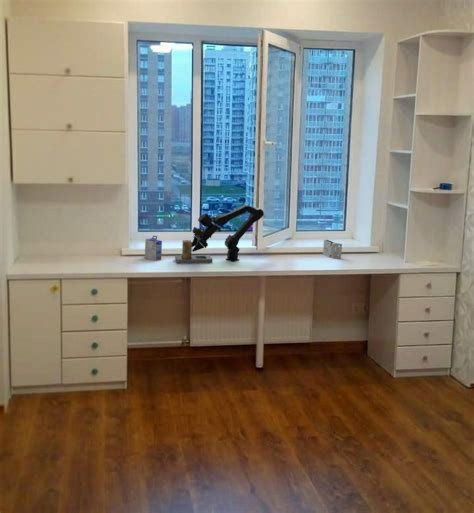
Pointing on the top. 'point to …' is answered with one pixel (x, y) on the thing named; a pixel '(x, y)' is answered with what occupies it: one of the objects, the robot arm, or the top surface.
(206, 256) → the grey flat block
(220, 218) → the robot arm
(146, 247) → the ink cartridge box
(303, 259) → the top surface
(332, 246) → the hinge
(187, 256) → the walnut peg
